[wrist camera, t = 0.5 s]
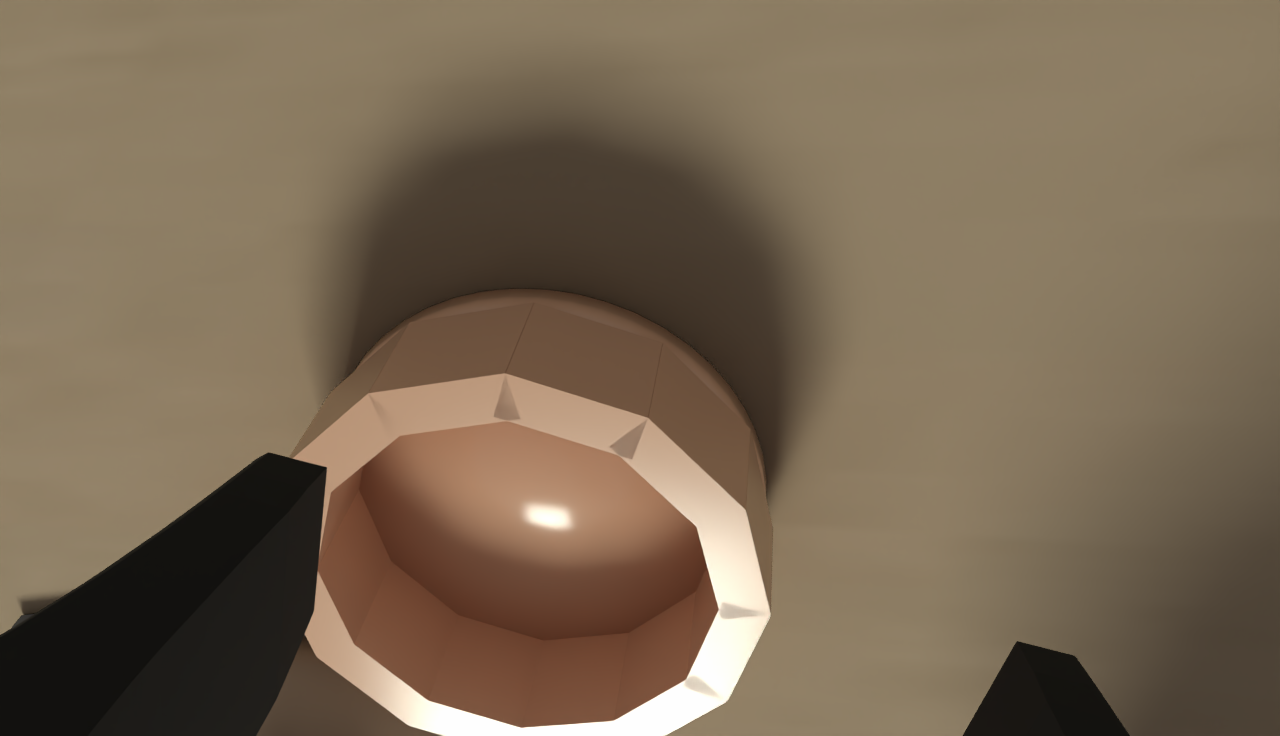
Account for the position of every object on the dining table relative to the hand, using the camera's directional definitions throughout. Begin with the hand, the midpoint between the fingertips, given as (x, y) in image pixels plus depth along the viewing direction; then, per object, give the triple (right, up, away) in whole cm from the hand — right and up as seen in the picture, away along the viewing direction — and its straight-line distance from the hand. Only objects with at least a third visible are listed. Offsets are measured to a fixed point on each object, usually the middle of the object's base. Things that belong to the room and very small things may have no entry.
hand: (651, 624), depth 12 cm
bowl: (-2, 0, +12) cm, 12 cm away
